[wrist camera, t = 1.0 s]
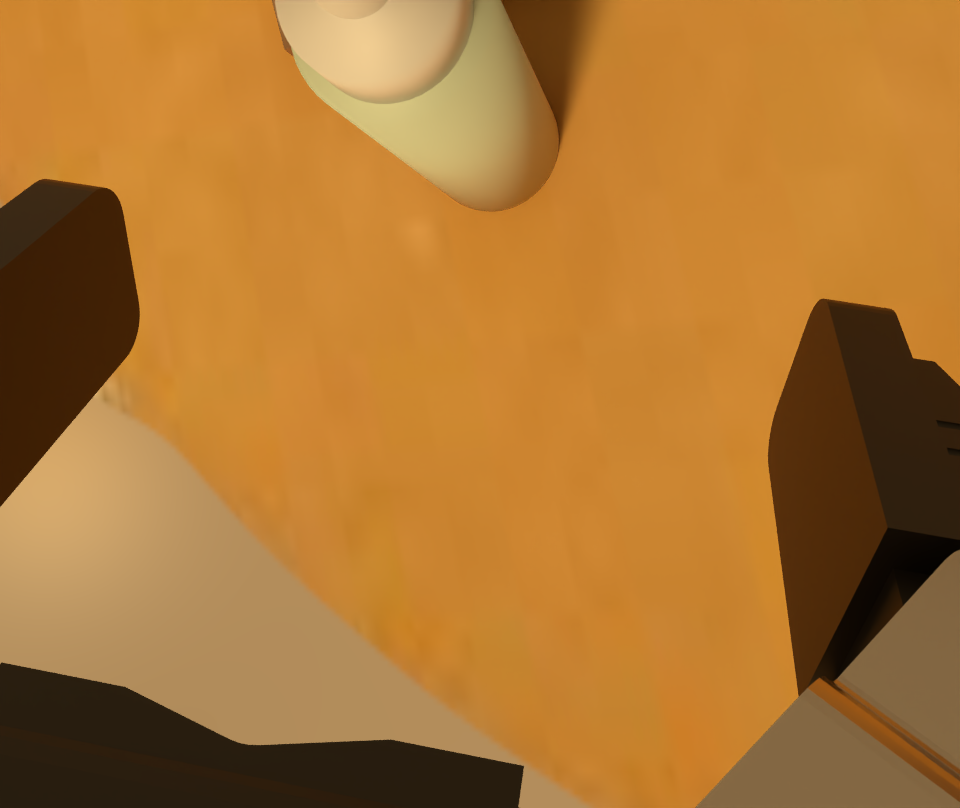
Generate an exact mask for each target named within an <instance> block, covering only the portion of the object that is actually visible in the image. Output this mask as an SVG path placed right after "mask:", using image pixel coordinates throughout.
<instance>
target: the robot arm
mask: <svg viewBox="0 0 960 808" xmlns="http://www.w3.org/2000/svg"><path fill="white" fill-rule="evenodd" d="M139 317H140V311H139V301H138V295H137V290H136V284H135V278H134V272H133V267H132V261H131V255H130V250H129V244H128V238H127V232H126V227H125V221H124V215H123V210H122V207H121V204H120V201H119V199H118V197H117V196H116V194H115V193H114V192H113V191H111V190H110V189H108V188H103V187H96V186H90V185H83V184H76V183H70V182H63V181H57V180H50V179H42V180H39V181H37V182H36V183H34V184H33V185H31V186H30V187H29V188H27V189H26V190H25V191H23V192H22V193H21V194H19V195H18V196H17V197H15V198H14V199H12V200H11V201H10V202H8V203H7V204H6V205H4V206H3V207H2V208H0V506H1V505H2V504H3V503H4V502H5V501H6V499H7V498H8V497H9V496H10V495H11V493H12V492H13V491H14V490H15V489H16V487H17V486H18V485H19V484H20V483H21V482H22V480H23V479H24V478H25V477H26V476H27V475H28V473H29V472H30V471H31V470H32V469H33V467H34V466H35V465H36V464H37V463H38V461H39V460H40V459H41V458H42V457H43V456H44V454H45V453H46V452H47V451H48V449H49V448H50V447H51V446H52V445H53V444H54V442H55V441H56V440H57V439H58V438H59V437H60V435H61V434H62V433H63V432H64V431H65V429H66V428H67V427H68V426H69V425H70V424H71V422H72V421H73V420H74V419H75V418H76V416H77V415H78V414H79V413H80V412H81V410H82V409H83V408H84V407H85V406H86V405H87V403H88V402H89V401H90V400H91V399H92V397H93V396H94V395H95V394H96V393H97V392H98V390H99V389H100V388H101V387H102V386H103V384H104V383H105V382H106V381H107V380H108V378H109V377H110V376H111V375H112V374H113V373H114V371H115V370H116V369H117V368H118V367H119V365H120V364H121V363H122V362H123V361H124V359H125V358H126V357H127V356H128V354H129V353H130V351H131V349H132V347H133V345H134V342H135V339H136V336H137V332H138V327H139ZM768 464H769V473H770V481H771V488H772V496H773V504H774V511H775V519H776V526H777V534H778V542H779V549H780V557H781V565H782V572H783V580H784V587H785V595H786V603H787V610H788V618H789V626H790V633H791V641H792V649H793V656H794V664H795V671H796V679H797V687H798V694H799V697H798V698H797V699H796V700H795V701H794V703H793V704H792V705H791V706H790V707H789V708H788V709H787V710H786V711H785V712H784V713H783V714H782V715H781V716H780V718H779V719H778V720H777V721H776V722H775V723H774V724H773V725H772V726H771V727H770V728H769V729H768V730H767V731H766V733H765V734H764V735H763V736H762V737H761V738H760V739H759V740H758V741H757V742H756V743H755V744H754V745H753V746H752V748H751V749H750V750H749V751H748V752H747V753H746V754H745V755H744V756H743V757H742V758H741V759H740V760H739V761H738V763H737V764H736V765H735V766H734V767H733V768H732V769H731V770H730V771H729V772H728V773H727V774H726V775H725V776H724V778H723V779H722V780H721V781H720V782H719V783H718V784H717V785H716V786H715V787H714V788H713V789H712V790H711V791H710V793H709V794H708V795H707V796H706V797H705V798H704V799H703V800H702V801H701V802H700V803H699V804H698V805H697V806H696V808H960V386H959V385H958V384H957V383H956V382H955V381H954V380H953V379H952V378H951V377H950V376H949V375H948V374H947V373H946V372H945V371H944V370H943V369H942V368H941V367H939V366H938V365H937V364H936V363H935V362H933V361H926V360H920V359H914V358H913V357H912V355H911V352H910V349H909V347H908V344H907V341H906V339H905V336H904V333H903V331H902V328H901V326H900V323H899V320H898V318H897V315H896V313H895V312H894V311H893V310H892V309H888V308H881V307H875V306H868V305H861V304H855V303H848V302H842V301H835V300H829V299H820V300H819V301H818V302H817V303H816V305H815V306H814V308H813V310H812V312H811V314H810V316H809V319H808V322H807V324H806V327H805V330H804V333H803V336H802V338H801V341H800V344H799V347H798V350H797V352H796V355H795V358H794V361H793V364H792V366H791V369H790V372H789V375H788V378H787V380H786V383H785V386H784V389H783V392H782V394H781V397H780V400H779V403H778V406H777V408H776V412H775V415H774V419H773V423H772V427H771V433H770V439H769V449H768ZM523 769H524V766H521V765H516V764H511V763H505V762H501V761H496V760H491V759H486V758H480V757H475V756H471V755H465V754H460V753H455V752H450V751H445V750H440V749H435V748H430V747H425V746H420V745H415V744H410V743H404V742H400V741H395V740H373V741H350V742H326V743H304V744H278V745H246V744H241V743H237V742H235V741H232V740H230V739H228V738H226V737H224V736H222V735H220V734H218V733H216V732H214V731H211V730H210V729H208V728H206V727H204V726H202V725H200V724H198V723H196V722H194V721H192V720H190V719H188V718H186V717H184V716H182V715H180V714H178V713H176V712H174V711H172V710H170V709H168V708H166V707H164V706H162V705H160V704H158V703H156V702H154V701H152V700H150V699H148V698H146V697H144V696H142V695H140V694H138V693H136V692H134V691H132V690H130V689H128V688H126V687H122V686H117V685H112V684H107V683H102V682H97V681H91V680H87V679H82V678H77V677H72V676H67V675H62V674H57V673H52V672H46V671H41V670H36V669H31V668H26V667H21V666H16V665H11V664H6V663H1V664H0V808H519V807H518V804H519V798H520V790H521V783H522V776H523Z"/></svg>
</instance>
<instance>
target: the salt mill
mask: <svg viewBox="0 0 960 808" xmlns="http://www.w3.org/2000/svg"><path fill="white" fill-rule="evenodd" d="M275 6H276V11H277V17H278V20H279V23H280V26H281V29H282V31H283V33H284V35H285V37H286V39H287V41H288V42H289V44H290V45H291V49H292V52H293V56H294V59H295V62H296V64H297V66H298V68H299V70H300V72H301V74H302V76H303V78H304V79H305V81H306V82H307V84H308V85H309V86H310V88H311V89H312V90H313V91H314V92H315V93H316V95H317V96H318V97H320V98H321V99H322V100H323V101H324V102H325V103H326V104H328V105H329V106H330V107H332V108H333V109H334V110H336V111H337V112H338V113H340V114H341V115H342V116H344V117H345V118H346V119H348V120H349V121H350V122H352V123H353V124H354V125H355V126H357V127H358V128H359V129H361V130H362V131H363V132H365V133H366V134H367V135H369V136H370V137H371V138H373V139H374V140H375V141H377V142H378V143H379V144H381V145H382V146H383V147H385V148H386V149H387V150H389V151H390V152H391V153H393V154H394V155H395V156H397V157H398V158H399V159H401V160H402V161H403V162H405V163H406V164H407V165H409V166H410V167H411V168H413V169H414V170H415V171H417V172H418V173H419V174H421V175H422V176H423V177H425V178H426V179H427V180H429V181H430V182H431V183H432V184H434V185H435V186H436V187H438V188H439V189H440V190H442V191H443V192H444V193H446V194H447V195H448V196H450V197H451V198H452V199H454V200H455V201H457V202H458V203H460V204H462V205H464V206H466V207H469V208H472V209H475V210H480V211H501V210H506V209H510V208H512V207H515V206H518V205H519V204H521V203H523V202H525V201H527V200H528V199H529V198H531V197H532V196H533V195H534V194H536V193H537V192H538V191H539V190H540V189H541V187H542V186H543V185H544V184H545V182H546V181H547V179H548V178H549V176H550V174H551V172H552V170H553V168H554V165H555V162H556V159H557V155H558V150H559V132H558V126H557V122H556V119H555V116H554V114H553V112H552V109H551V107H550V105H549V103H548V101H547V99H546V96H545V94H544V92H543V90H542V88H541V86H540V83H539V81H538V79H537V77H536V75H535V73H534V71H533V68H532V66H531V64H530V62H529V60H528V58H527V55H526V53H525V51H524V49H523V47H522V45H521V43H520V40H519V38H518V36H517V34H516V32H515V30H514V27H513V25H512V23H511V21H510V19H509V17H508V14H507V12H506V10H505V8H504V6H503V4H502V2H501V0H275Z"/></svg>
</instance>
